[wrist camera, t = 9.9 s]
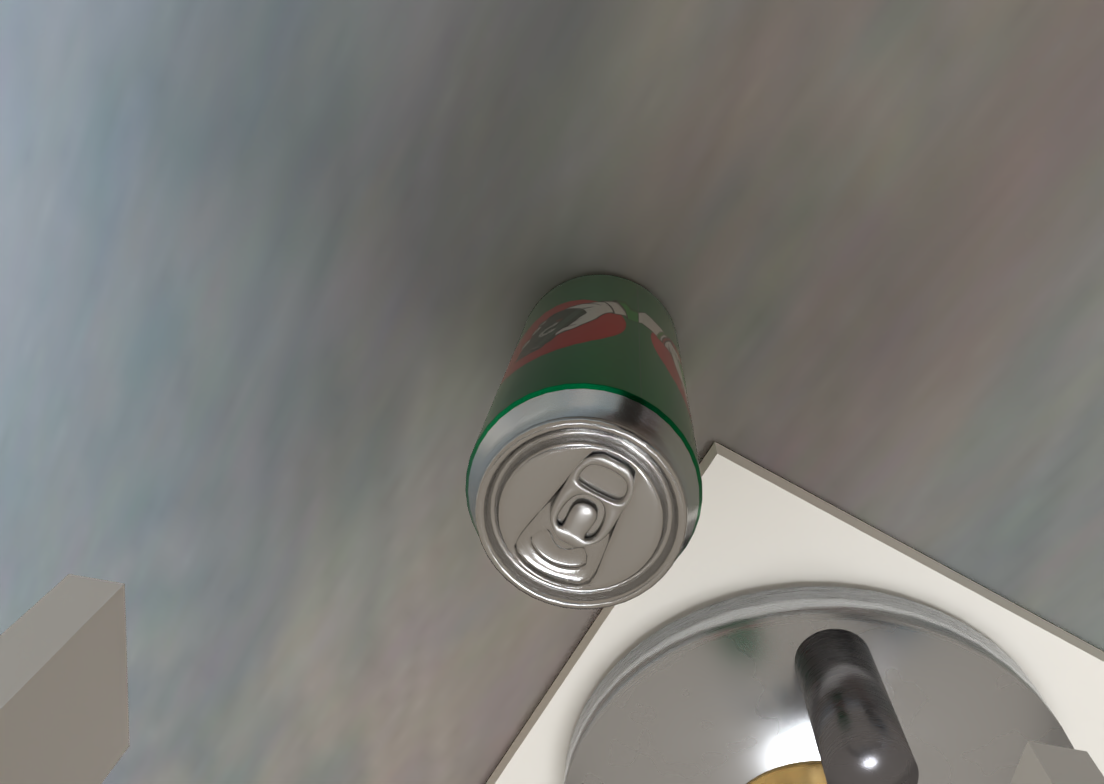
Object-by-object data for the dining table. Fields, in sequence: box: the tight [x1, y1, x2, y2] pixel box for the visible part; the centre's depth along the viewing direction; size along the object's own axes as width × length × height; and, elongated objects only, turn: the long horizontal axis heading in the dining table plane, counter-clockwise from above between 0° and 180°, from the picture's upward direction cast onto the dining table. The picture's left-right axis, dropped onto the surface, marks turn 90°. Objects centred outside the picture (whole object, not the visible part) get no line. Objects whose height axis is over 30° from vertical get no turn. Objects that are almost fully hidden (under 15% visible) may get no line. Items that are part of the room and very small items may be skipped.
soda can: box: [466, 275, 702, 609], centre depth 23 cm, size 5×5×12 cm
